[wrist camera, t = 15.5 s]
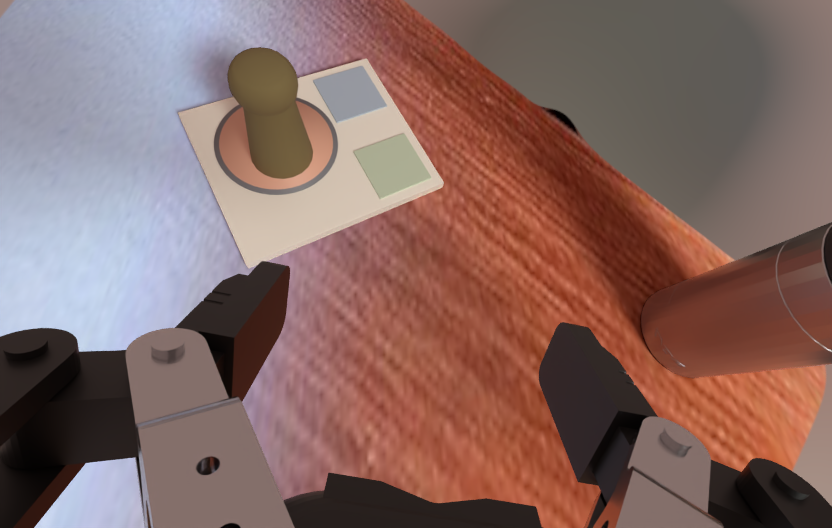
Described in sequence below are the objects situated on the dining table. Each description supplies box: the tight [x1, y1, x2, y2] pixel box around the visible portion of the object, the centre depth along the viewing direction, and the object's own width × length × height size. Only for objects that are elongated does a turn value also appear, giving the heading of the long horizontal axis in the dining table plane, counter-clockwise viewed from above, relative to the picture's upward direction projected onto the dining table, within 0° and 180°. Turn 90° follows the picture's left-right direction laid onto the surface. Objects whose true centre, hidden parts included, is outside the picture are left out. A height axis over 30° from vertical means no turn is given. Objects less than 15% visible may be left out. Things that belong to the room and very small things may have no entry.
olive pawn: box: [228, 47, 313, 179], centre depth 35 cm, size 6×6×11 cm
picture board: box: [178, 58, 444, 268], centre depth 42 cm, size 21×18×1 cm
